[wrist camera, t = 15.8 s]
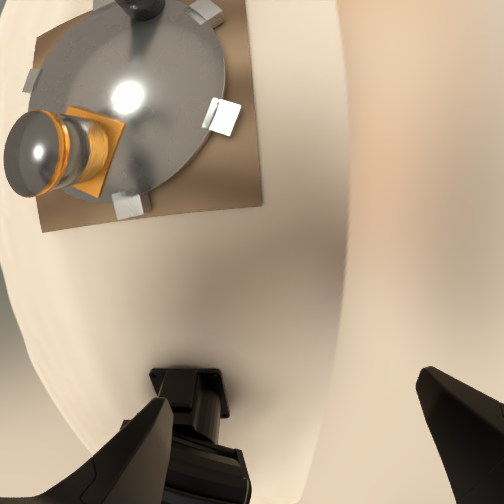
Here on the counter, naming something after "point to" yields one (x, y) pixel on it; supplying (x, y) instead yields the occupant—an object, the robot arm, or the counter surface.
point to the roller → (53, 152)
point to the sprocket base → (206, 161)
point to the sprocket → (139, 92)
